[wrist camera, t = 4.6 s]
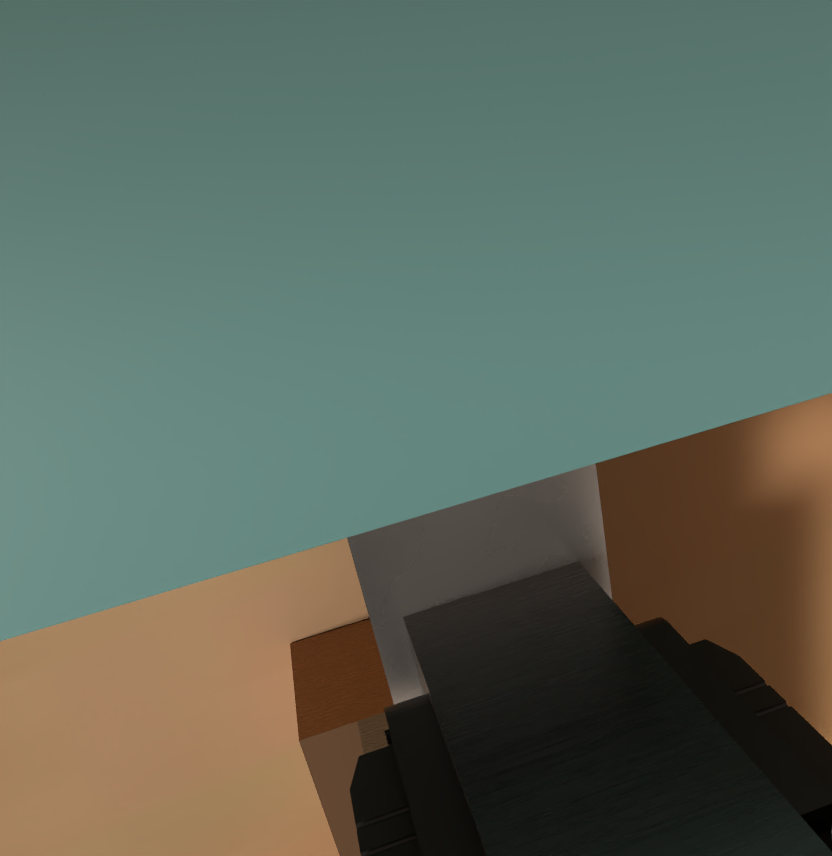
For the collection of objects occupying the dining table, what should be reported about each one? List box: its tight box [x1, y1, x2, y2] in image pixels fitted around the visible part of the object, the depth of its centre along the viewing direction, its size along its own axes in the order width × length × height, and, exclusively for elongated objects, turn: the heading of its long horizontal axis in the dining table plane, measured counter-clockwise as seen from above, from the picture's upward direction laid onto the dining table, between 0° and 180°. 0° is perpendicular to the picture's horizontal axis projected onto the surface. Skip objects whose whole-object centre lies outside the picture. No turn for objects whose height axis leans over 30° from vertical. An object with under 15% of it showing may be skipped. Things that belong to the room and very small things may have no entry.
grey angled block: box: [347, 463, 832, 856], centre depth 11 cm, size 16×4×11 cm, turn 12°
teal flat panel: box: [0, 0, 832, 641], centre depth 12 cm, size 5×12×12 cm, turn 102°
